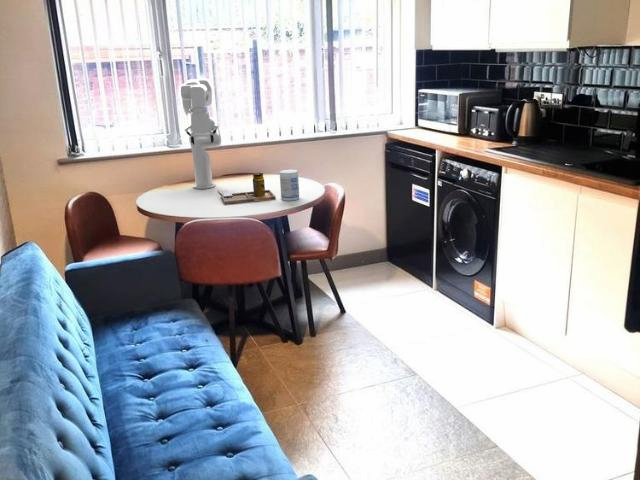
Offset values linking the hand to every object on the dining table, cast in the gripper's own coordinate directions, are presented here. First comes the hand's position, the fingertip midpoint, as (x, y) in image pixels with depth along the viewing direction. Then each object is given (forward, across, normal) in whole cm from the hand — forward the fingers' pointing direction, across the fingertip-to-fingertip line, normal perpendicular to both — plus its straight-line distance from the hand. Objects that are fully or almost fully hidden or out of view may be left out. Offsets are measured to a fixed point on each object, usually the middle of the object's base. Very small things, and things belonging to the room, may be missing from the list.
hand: (202, 143), depth 312 cm
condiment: (+28, +25, -15) cm, 40 cm away
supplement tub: (+28, +40, -26) cm, 56 cm away
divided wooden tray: (+28, +20, -16) cm, 38 cm away
